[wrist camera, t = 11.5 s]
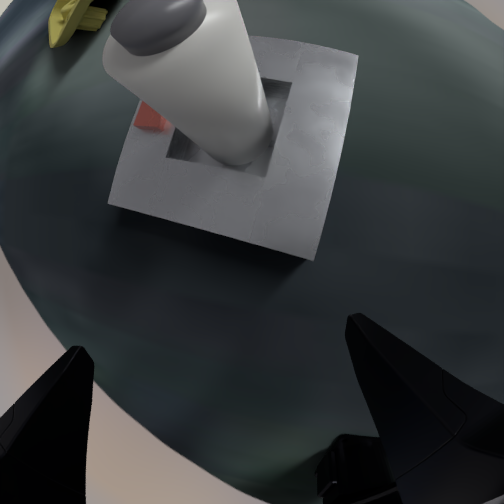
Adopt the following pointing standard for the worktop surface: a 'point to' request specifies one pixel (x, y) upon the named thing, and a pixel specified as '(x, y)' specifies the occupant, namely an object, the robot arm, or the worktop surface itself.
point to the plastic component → (73, 20)
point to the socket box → (255, 172)
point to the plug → (194, 72)
